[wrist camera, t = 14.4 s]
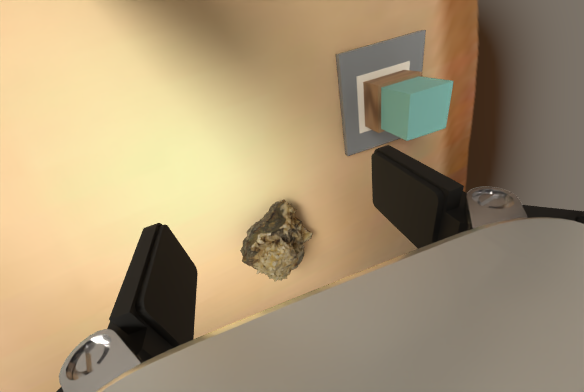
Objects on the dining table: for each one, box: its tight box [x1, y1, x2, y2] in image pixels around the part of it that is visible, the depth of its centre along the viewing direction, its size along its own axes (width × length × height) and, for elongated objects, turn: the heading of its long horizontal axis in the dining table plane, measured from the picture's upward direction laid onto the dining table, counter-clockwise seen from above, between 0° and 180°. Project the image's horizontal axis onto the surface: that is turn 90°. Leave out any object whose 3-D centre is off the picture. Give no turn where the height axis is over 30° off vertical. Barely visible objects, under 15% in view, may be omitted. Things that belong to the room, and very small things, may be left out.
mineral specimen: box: [240, 200, 312, 281], centre depth 44 cm, size 14×13×10 cm
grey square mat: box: [336, 30, 426, 156], centre depth 39 cm, size 16×14×1 cm
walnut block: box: [363, 70, 422, 133], centre depth 37 cm, size 7×7×4 cm
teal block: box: [381, 76, 453, 141], centre depth 33 cm, size 6×6×6 cm
